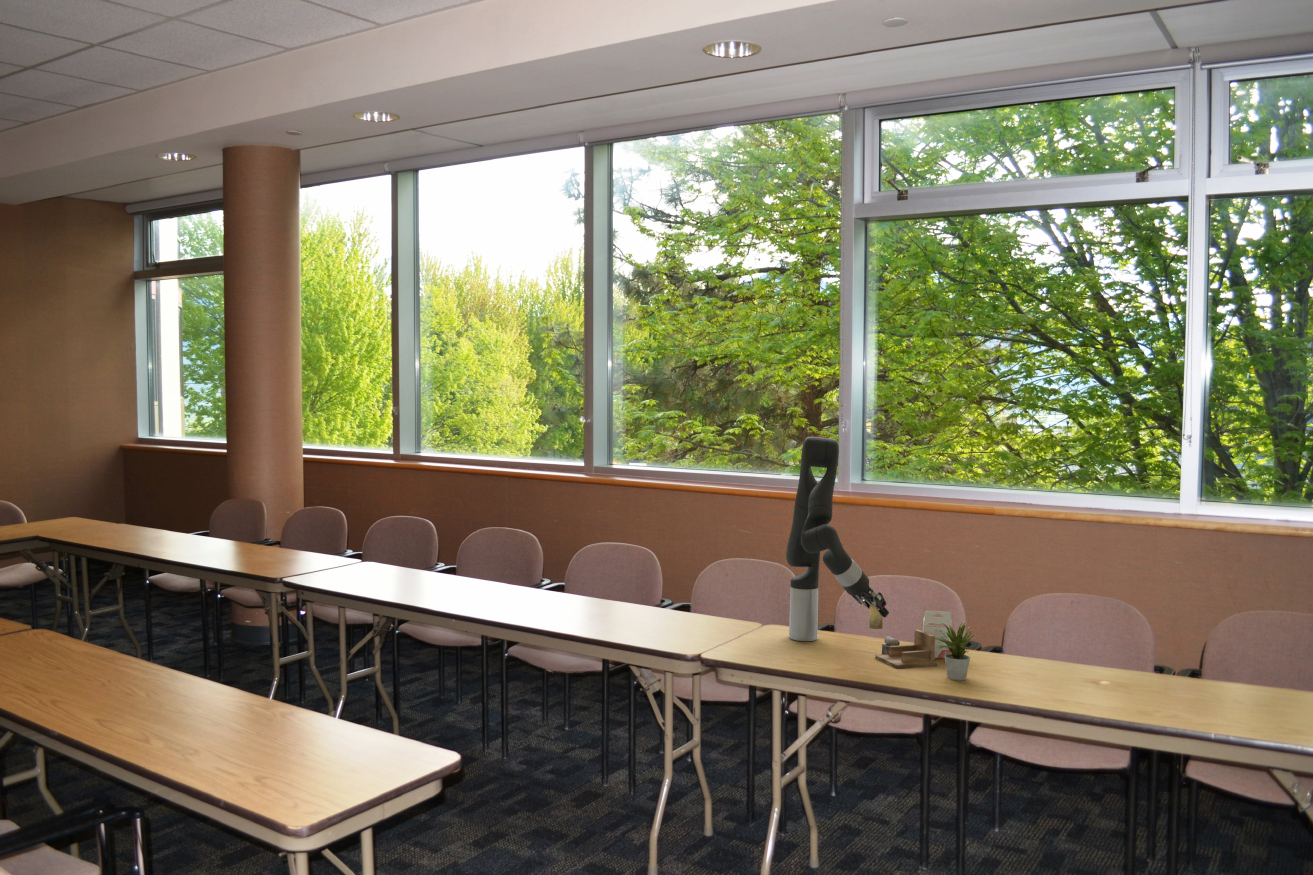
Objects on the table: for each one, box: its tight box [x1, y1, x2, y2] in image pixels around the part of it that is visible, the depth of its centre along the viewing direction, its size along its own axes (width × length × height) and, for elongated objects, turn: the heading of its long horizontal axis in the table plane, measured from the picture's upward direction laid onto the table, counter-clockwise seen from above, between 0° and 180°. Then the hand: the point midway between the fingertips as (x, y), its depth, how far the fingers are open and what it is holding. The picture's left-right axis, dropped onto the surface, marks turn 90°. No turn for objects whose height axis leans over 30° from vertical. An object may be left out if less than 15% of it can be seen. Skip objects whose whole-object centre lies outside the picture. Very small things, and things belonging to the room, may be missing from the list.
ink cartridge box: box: [922, 610, 953, 660], centre depth 303 cm, size 9×5×15 cm, turn 76°
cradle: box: [874, 628, 938, 669], centre depth 299 cm, size 16×14×8 cm
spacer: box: [868, 598, 884, 630], centre depth 290 cm, size 4×4×10 cm
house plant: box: [931, 621, 980, 681], centre depth 281 cm, size 14×14×16 cm
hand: (881, 613), depth 291 cm, fingers closed on spacer, 4 cm apart
